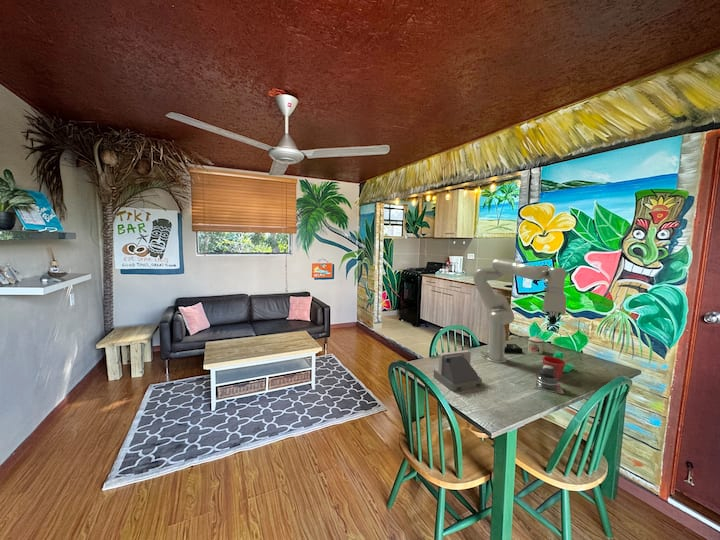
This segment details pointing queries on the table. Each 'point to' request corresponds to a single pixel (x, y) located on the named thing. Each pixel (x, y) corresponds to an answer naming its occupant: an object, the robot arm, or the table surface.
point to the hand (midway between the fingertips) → (552, 323)
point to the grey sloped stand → (457, 371)
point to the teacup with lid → (536, 345)
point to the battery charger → (512, 349)
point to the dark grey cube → (547, 371)
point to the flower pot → (555, 365)
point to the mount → (560, 356)
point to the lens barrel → (547, 383)
